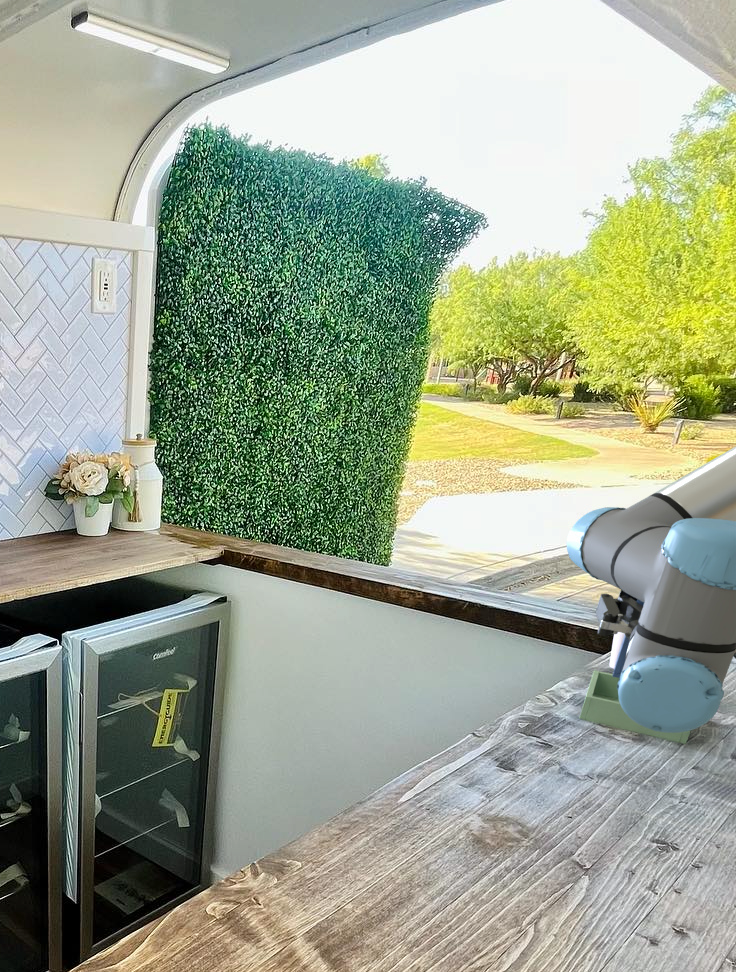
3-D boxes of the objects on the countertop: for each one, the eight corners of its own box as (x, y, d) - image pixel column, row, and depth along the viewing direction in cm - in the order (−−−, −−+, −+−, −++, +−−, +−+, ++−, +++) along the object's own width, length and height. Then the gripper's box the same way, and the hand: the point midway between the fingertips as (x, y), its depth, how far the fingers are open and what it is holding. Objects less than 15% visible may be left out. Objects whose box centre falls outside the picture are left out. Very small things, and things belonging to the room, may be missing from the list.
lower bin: (685, 716, 111) (694, 690, 109) (684, 747, 103) (694, 720, 101) (586, 694, 118) (594, 669, 116) (577, 722, 110) (586, 696, 108)
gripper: (548, 660, 90) (571, 610, 106) (790, 711, 77) (775, 646, 93) (565, 599, 87) (587, 558, 103) (820, 643, 74) (799, 588, 91)
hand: (676, 600), depth 98 cm, fingers closed on upper bin, 8 cm apart
